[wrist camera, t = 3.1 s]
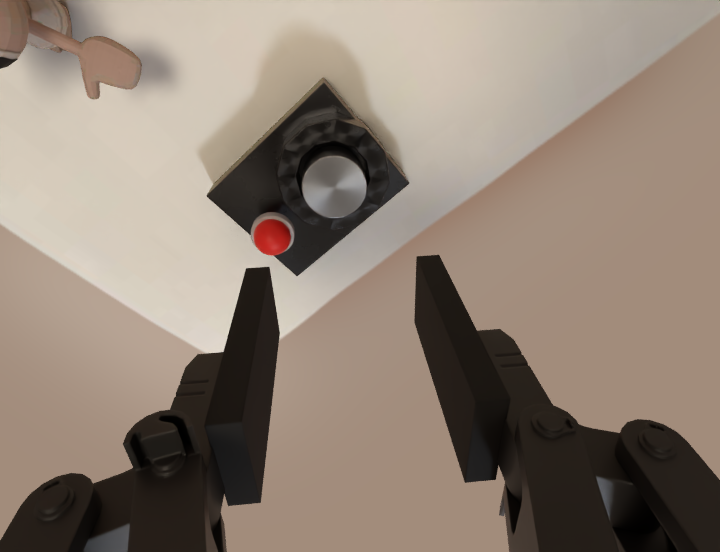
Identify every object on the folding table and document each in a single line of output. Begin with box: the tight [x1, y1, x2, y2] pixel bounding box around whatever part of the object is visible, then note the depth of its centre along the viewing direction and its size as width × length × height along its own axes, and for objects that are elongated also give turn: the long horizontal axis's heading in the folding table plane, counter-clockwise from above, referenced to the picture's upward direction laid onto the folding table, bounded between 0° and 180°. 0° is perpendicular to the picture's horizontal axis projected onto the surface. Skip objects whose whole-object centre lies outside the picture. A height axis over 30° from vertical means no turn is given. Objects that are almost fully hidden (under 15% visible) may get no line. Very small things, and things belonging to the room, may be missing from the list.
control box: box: [207, 78, 409, 276], centre depth 29 cm, size 10×8×4 cm
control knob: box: [302, 146, 367, 218], centre depth 26 cm, size 4×4×2 cm
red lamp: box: [251, 212, 295, 255], centre depth 27 cm, size 3×3×2 cm
